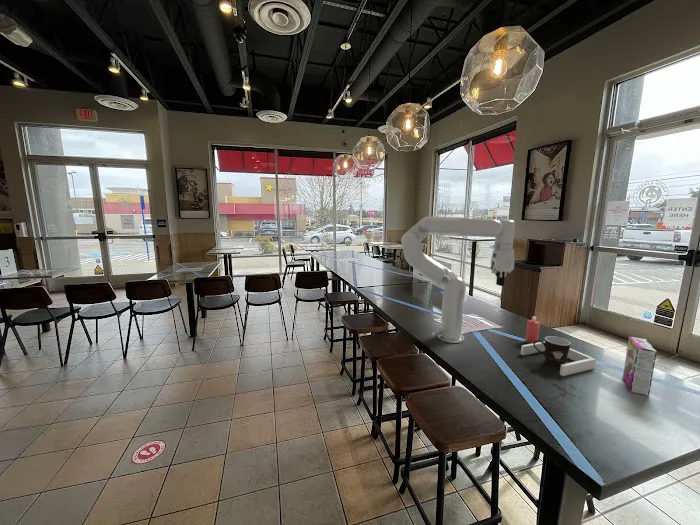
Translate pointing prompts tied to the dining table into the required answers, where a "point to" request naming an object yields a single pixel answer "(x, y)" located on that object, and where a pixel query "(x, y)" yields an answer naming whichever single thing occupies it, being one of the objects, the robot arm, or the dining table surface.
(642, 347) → the candy bar box
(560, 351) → the coffee mug
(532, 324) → the squeeze bottle
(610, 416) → the dining table surface
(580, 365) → the open u-shaped frame
